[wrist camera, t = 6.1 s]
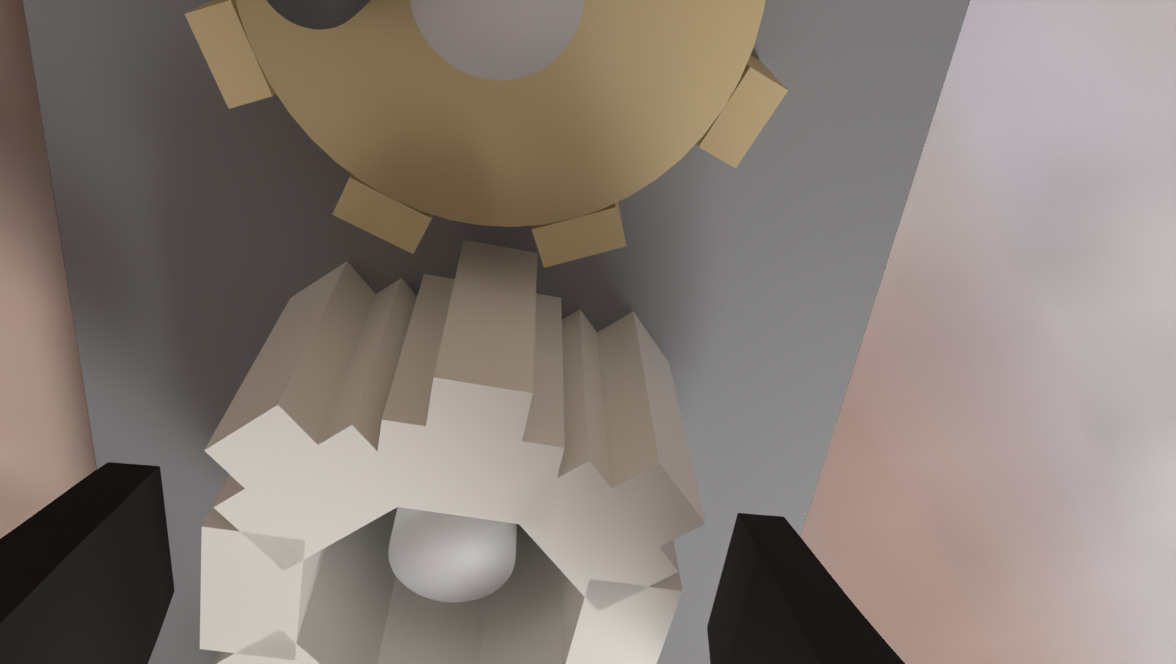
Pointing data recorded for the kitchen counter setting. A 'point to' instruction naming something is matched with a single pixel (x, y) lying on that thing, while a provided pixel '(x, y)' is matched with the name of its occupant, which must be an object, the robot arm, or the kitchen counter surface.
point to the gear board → (683, 271)
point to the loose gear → (447, 476)
